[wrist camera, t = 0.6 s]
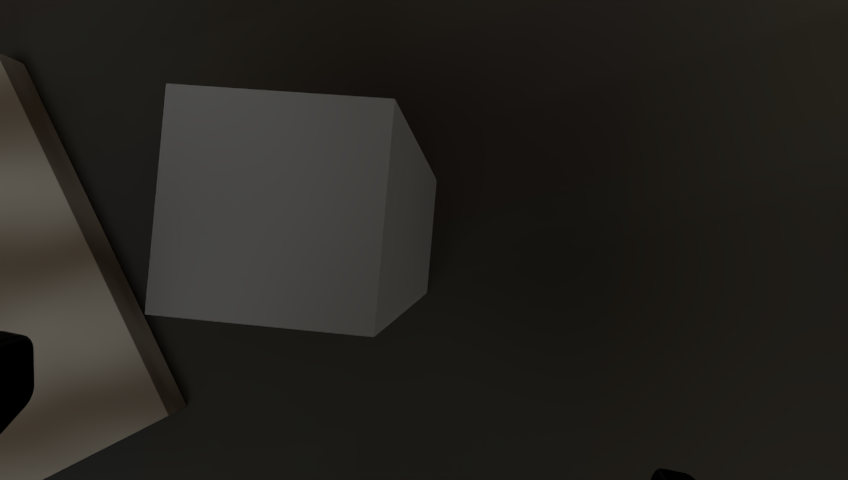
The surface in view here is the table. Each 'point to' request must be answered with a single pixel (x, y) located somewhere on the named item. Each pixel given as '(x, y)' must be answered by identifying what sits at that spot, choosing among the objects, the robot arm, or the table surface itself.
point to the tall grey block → (288, 211)
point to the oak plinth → (66, 303)
